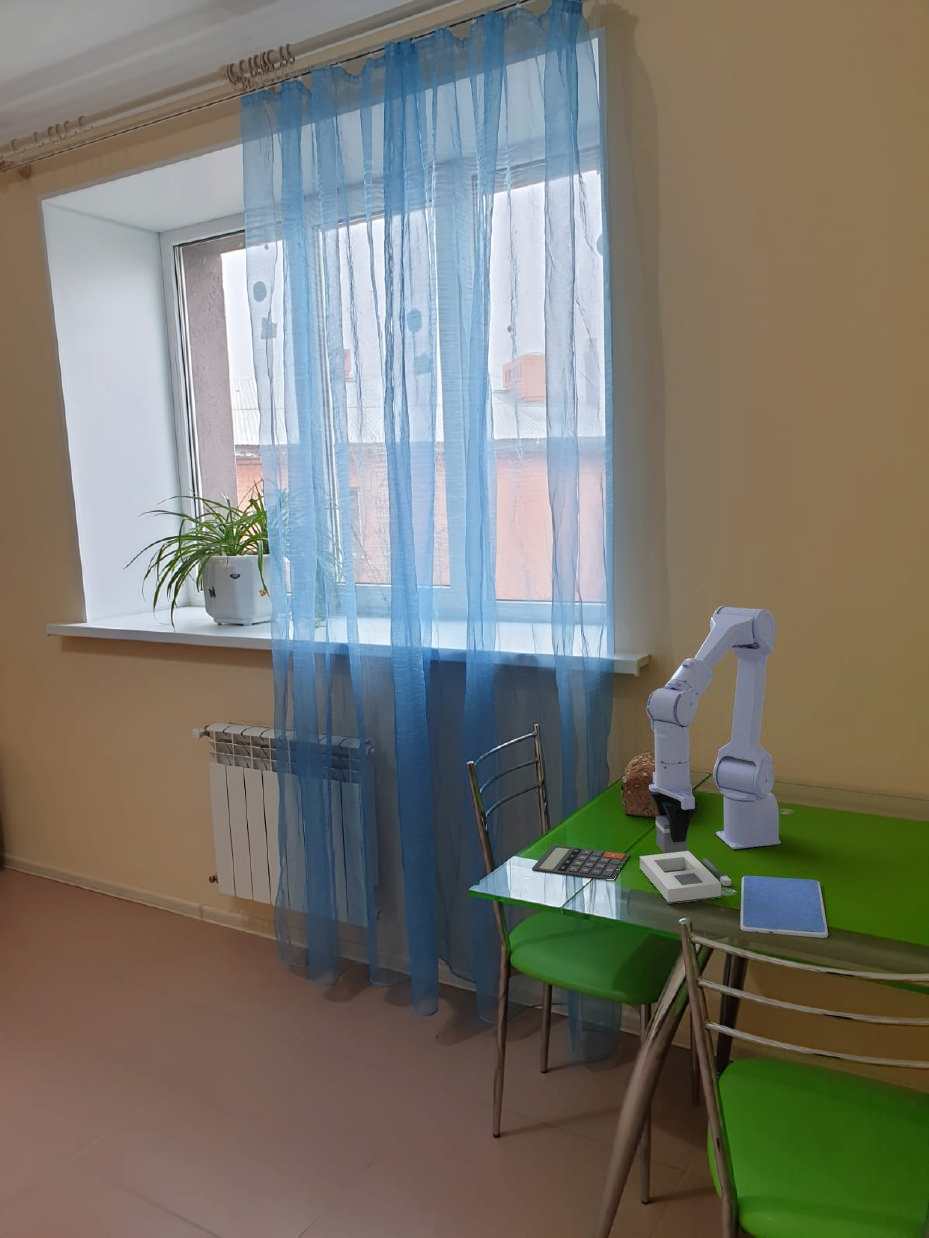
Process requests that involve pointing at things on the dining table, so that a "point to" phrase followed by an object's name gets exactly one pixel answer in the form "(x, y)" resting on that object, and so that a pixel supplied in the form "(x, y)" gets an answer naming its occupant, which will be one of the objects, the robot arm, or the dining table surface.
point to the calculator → (580, 862)
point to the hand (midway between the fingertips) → (673, 836)
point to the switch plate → (680, 877)
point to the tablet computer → (782, 906)
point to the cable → (717, 873)
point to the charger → (667, 837)
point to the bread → (639, 786)
